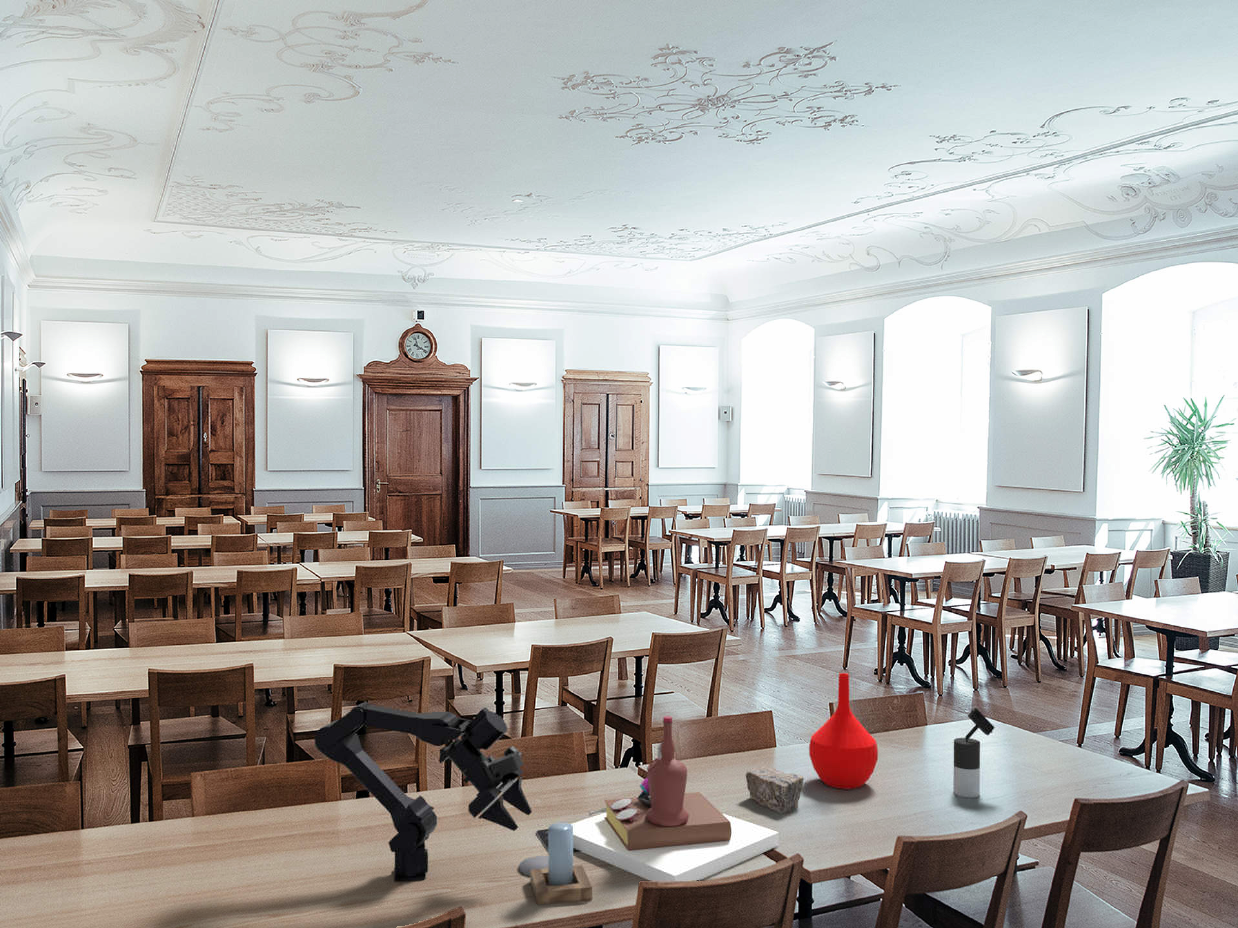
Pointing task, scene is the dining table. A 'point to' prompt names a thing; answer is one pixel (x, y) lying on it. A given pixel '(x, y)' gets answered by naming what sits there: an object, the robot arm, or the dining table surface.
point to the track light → (969, 758)
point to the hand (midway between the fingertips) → (523, 821)
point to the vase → (843, 746)
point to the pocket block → (560, 887)
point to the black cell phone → (544, 839)
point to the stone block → (774, 788)
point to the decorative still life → (669, 828)
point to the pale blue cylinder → (560, 854)
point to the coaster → (533, 864)
